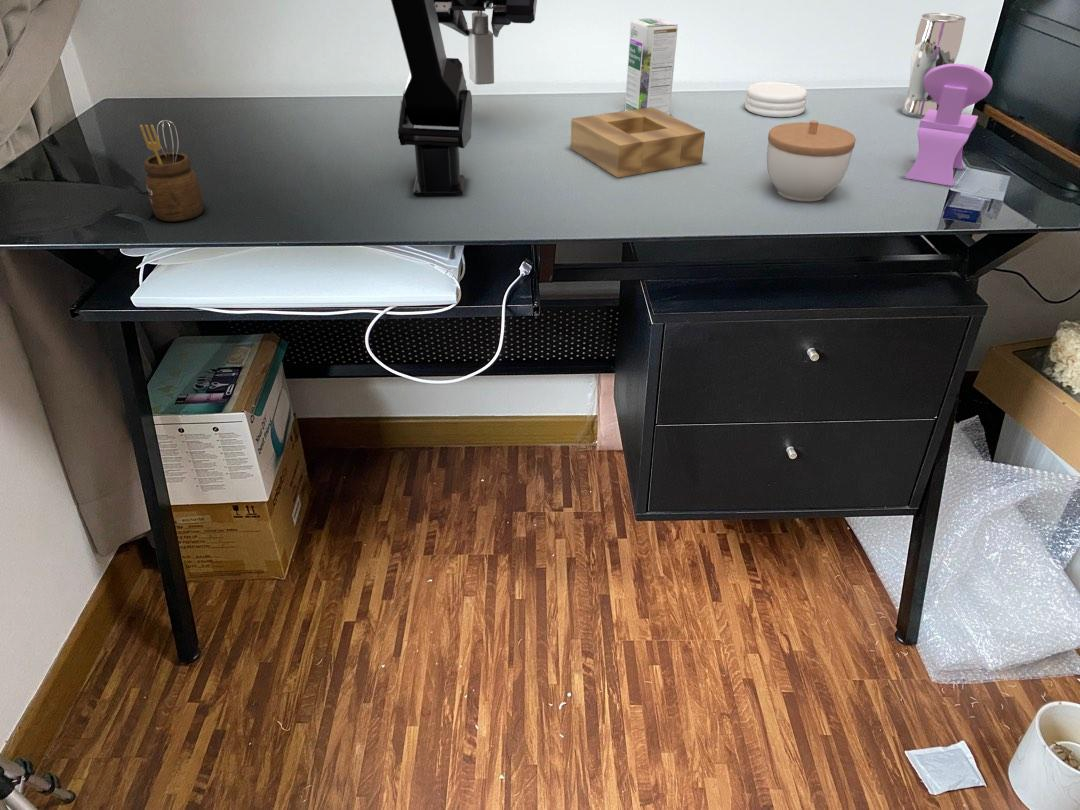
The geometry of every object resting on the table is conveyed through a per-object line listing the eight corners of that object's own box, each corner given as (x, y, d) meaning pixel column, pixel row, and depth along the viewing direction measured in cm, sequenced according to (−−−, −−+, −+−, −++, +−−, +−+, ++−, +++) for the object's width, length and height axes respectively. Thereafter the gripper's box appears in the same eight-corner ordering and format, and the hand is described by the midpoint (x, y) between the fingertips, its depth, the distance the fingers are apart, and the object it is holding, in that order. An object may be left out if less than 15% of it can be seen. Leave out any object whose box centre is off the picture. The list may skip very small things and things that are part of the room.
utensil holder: (210, 204, 109) (189, 109, 103) (195, 223, 104) (172, 124, 98) (164, 205, 109) (139, 109, 103) (147, 224, 104) (119, 125, 97)
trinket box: (843, 183, 116) (857, 113, 111) (844, 212, 108) (859, 137, 102) (762, 175, 119) (773, 106, 113) (757, 203, 110) (768, 130, 105)
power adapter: (475, 84, 133) (473, 0, 126) (468, 76, 137) (465, -6, 130) (495, 83, 133) (493, -1, 127) (487, 75, 138) (485, -6, 131)
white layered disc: (733, 104, 148) (736, 83, 146) (784, 99, 151) (787, 79, 149) (762, 120, 140) (766, 98, 138) (815, 115, 143) (819, 93, 141)
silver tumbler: (898, 117, 142) (921, 19, 133) (897, 105, 147) (919, 11, 139) (943, 120, 140) (969, 22, 132) (940, 109, 146) (965, 14, 137)
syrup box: (623, 112, 144) (628, 19, 136) (653, 108, 146) (660, 16, 138) (640, 121, 140) (646, 26, 132) (671, 116, 142) (679, 22, 134)
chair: (971, 168, 121) (1003, 57, 113) (961, 187, 115) (995, 71, 106) (910, 158, 124) (937, 49, 116) (897, 176, 118) (925, 62, 110)
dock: (617, 177, 118) (619, 145, 115) (570, 148, 128) (571, 118, 126) (701, 163, 123) (705, 131, 120) (650, 136, 133) (652, 106, 131)
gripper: (536, -87, 118) (546, -11, 133) (405, -89, 120) (430, -14, 135) (527, -15, 116) (539, 53, 131) (394, -19, 118) (420, 49, 133)
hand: (481, 34), depth 133 cm, fingers closed on power adapter, 4 cm apart
